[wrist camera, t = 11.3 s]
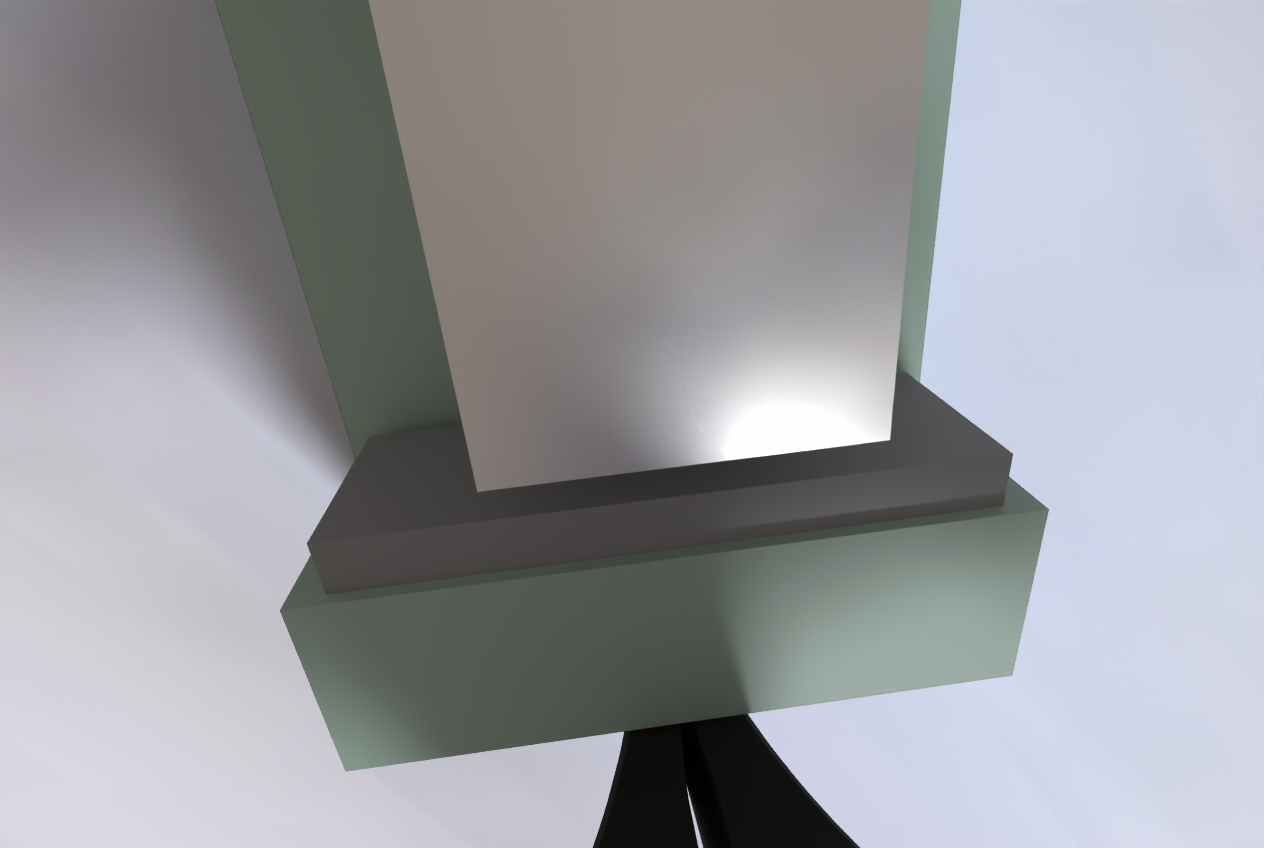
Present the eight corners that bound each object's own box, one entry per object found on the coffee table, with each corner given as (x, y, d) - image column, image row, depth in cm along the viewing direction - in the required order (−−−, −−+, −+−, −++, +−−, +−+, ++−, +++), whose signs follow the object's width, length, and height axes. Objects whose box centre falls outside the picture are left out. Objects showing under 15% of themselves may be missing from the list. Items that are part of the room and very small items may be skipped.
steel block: (751, -162, 8) (972, -476, 4) (754, 303, 11) (889, 439, 6) (430, -136, 8) (272, -437, 4) (512, 331, 11) (477, 491, 6)
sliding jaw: (924, 362, 12) (1060, 456, 8) (905, 541, 13) (1012, 675, 10) (343, 431, 11) (258, 558, 8) (398, 608, 13) (345, 771, 10)
